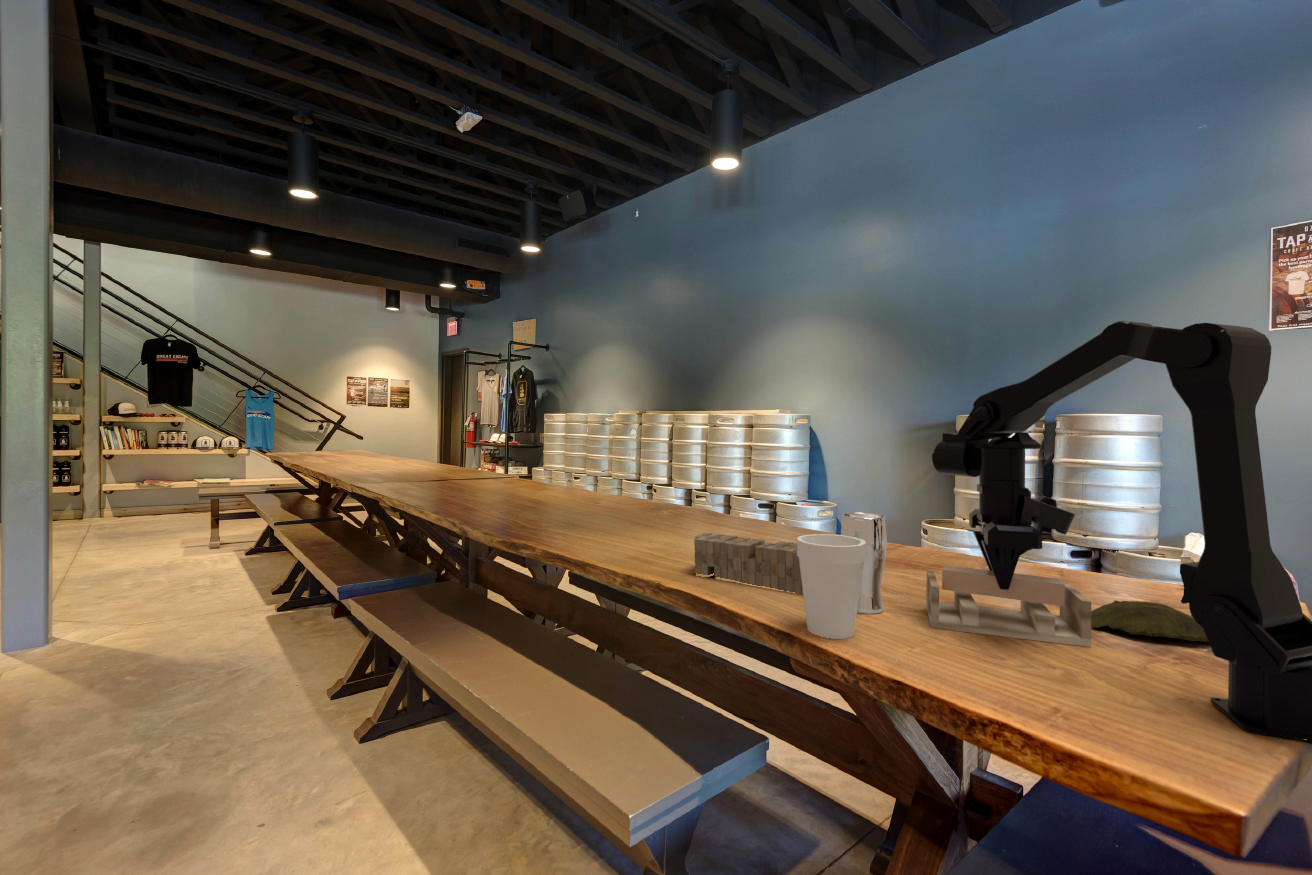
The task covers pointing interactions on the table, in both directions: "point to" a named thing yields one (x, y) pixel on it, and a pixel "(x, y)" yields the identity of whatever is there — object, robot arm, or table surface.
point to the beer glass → (869, 556)
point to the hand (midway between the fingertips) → (1001, 585)
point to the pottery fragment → (1147, 620)
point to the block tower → (749, 561)
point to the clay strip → (987, 585)
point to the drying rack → (1013, 617)
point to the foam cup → (831, 582)
